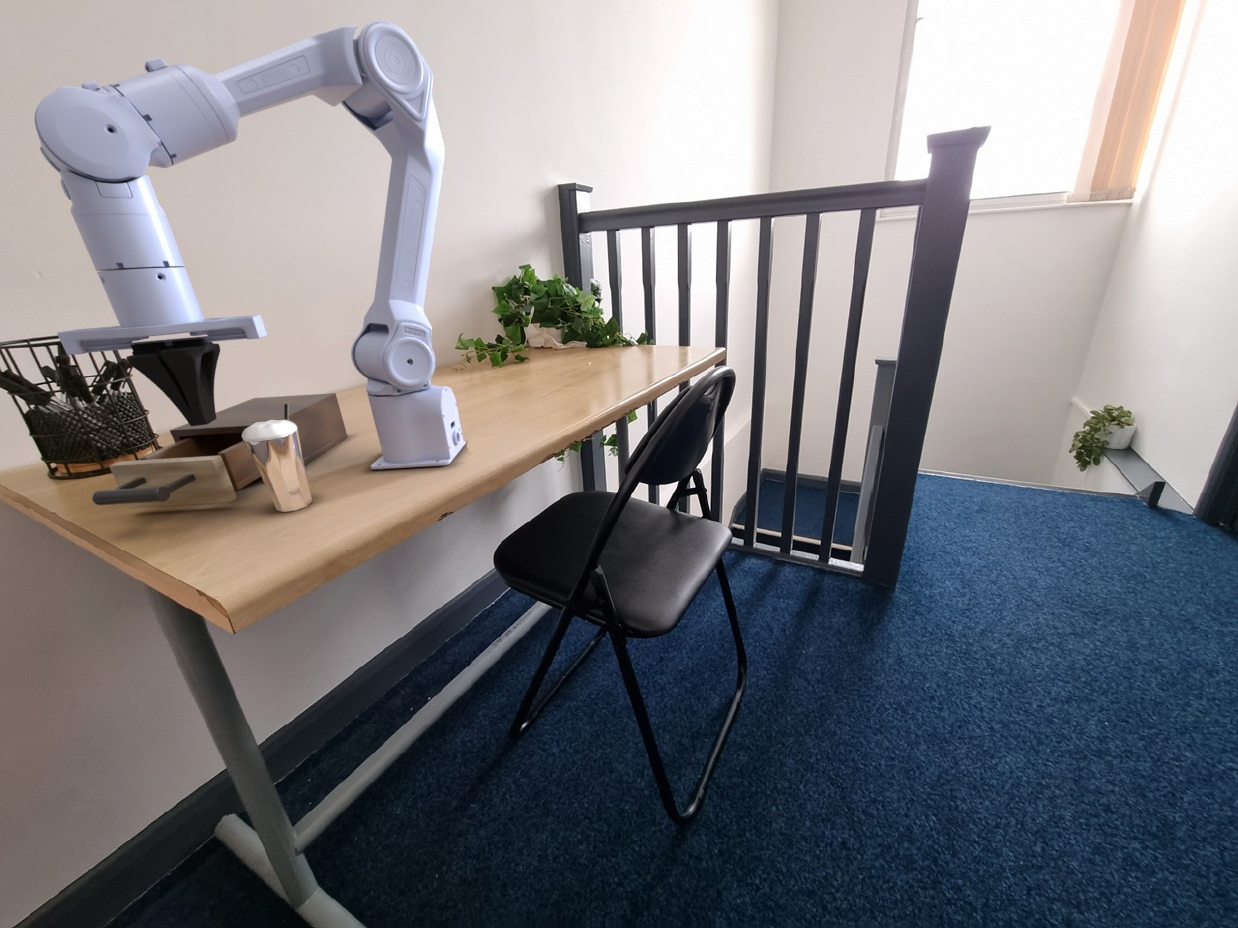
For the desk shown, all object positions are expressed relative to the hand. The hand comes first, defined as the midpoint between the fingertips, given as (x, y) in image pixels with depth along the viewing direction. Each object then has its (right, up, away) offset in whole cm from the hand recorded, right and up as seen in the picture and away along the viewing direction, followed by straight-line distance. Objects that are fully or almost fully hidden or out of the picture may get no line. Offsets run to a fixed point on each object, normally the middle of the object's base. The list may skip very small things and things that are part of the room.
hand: (204, 422), depth 47 cm
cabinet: (-6, -3, +19) cm, 20 cm away
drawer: (-6, -7, +8) cm, 12 cm away
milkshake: (+6, -8, +5) cm, 11 cm away
